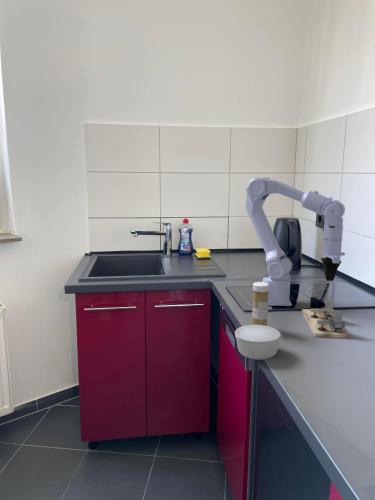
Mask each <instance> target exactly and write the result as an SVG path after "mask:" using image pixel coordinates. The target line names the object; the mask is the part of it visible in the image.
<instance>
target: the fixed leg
mask: <svg viewBox="0 0 375 500" xmlns="http://www.w3.org/2000/svg"><path fill="white" fill-rule="evenodd" d="M342 317H343V311H341V310H335V309H334V314H333V320H330V321H321V320H317V324H321V329H323V325H329V328H330V329H331V331H335V328H340V329H341V331H344V330H346V329H345V326H346V323H345V322H344V320H343V319H342Z"/></svg>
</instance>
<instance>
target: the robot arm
mask: <svg viewBox="0 0 375 500" xmlns="http://www.w3.org/2000/svg"><path fill="white" fill-rule="evenodd" d="M245 192H246V196H245V197H246V199H245V210H246V212H247V214H248V216H249V219H250V221H251V223H252V226H253V228H254V230H255V232H256V234H257V237H258V239H259V241H260V243H261V245H262V248H263V250H264V253H265V262H266V264H267V274H268V277H267V276H266V277H263V278H262V282H265V283H268V284H269V292H268V306H278V307H279V306H280V307H281V306H283V307H291V306H292V302H291V300H290V295H291V294H290V293H291V292H290V291H291V276H290V272H291V271H292V269H293V263H292V261H291V259H290V258H289V257H287V255H286V253H285V252H284V250H282V248H281V247H280V245H279V242H278V240H277V238H276V236H275V233H274V231H273V228H272V227H271V224H270V222H269V220H268V217H267V216H266V213H265V211H264V209H263V206H264V204H265V202H266V200H267V198H268V197H269V196H270V195H271V194H279V195H282V196H285V197H287V198H289V199H292V200H294V201H297V202H299V203H300V204H301V206H302V208H303V209H306V210H308V211H311V212H314V213H316V214H318V215H320V216H322V215H323V217H324V224H323V230H322V231H323V234H322V250H321V256H323V257H321V258H320V260H321V263H322V265H323V270H324V277H325V280H326V281H328V282H334V281H335V280H334V279H335V278H336V273H337V271H338V270H339V269H338V268H339V266H340V265H341V264H342V261H341V257H342V256H345V255H346V252H343V251H342V244H343V233H344V231H343V230H344V229H343V228H344V225H343V223H344V217H343V216H344V215H345V213H346V207H345V205H344V204H343V203H342V202H341V201H339V200H333V197H331V196H329V197H327V196H325V195H323V194H319V191H317V190H309V191H306V192H304V191H302V190H301V189H300V190H299V189H297V188H295V187H293V186H291V185H289V184H286V183H284V182H283V181H281V180H276V179H271V178H269V177H254V178H251V180H250V181H249V182H248V183H247V186H246V188H245Z"/></svg>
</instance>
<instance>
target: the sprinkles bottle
mask: <svg viewBox="0 0 375 500" xmlns="http://www.w3.org/2000/svg"><path fill="white" fill-rule="evenodd" d="M252 291H253V294H252V295H253V296H252V299H253V300H252V312H251V313H252V319H251V320H252V321H251V322H252V323H251V325H265V326H268V315H269V313H268V311H269V305H268V292H269V284H268V283H265V282H263V281H255V282H254V283H253V284H252Z"/></svg>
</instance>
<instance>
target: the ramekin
mask: <svg viewBox="0 0 375 500" xmlns="http://www.w3.org/2000/svg"><path fill="white" fill-rule="evenodd" d="M281 335H282V334H281V332H280V331H279V330H278V329H276V328H275V327H272V326H268V325H267V326H265V325H252V324H247V325H243V326H239V327H238V328H237V329H236V330H235V331H234V336H235V338H236V344H237V350H238V352H239V354H240V355H241V356H244V357H245V358H247V359H251V360H255V361H256V360H257V361H262V360H263V361H264V360H268V359H271V358H273V357H274V356H275V355H276V354H277V352H278V348H279V344H280V341H281Z"/></svg>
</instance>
